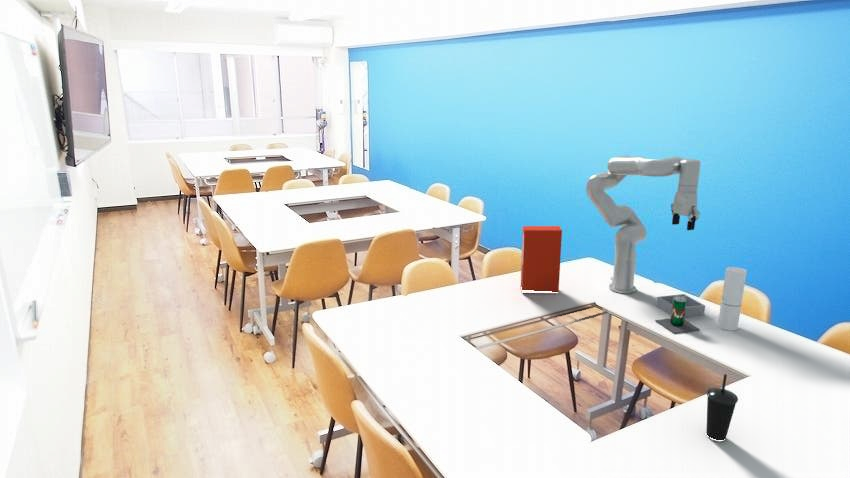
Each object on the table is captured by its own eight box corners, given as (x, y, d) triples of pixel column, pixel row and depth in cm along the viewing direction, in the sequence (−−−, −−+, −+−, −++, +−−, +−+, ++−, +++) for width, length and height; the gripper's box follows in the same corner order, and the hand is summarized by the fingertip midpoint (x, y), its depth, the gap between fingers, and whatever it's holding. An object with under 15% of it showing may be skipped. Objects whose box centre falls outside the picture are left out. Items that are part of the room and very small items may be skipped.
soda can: (682, 322, 221) (686, 295, 218) (684, 327, 217) (687, 300, 213) (669, 320, 223) (672, 294, 219) (670, 325, 218) (673, 298, 215)
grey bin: (656, 306, 239) (657, 296, 238) (682, 303, 241) (684, 293, 240) (676, 318, 226) (677, 308, 225) (703, 315, 229) (705, 305, 227)
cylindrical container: (732, 323, 221) (741, 266, 213) (740, 331, 214) (750, 273, 207) (714, 323, 221) (723, 266, 214) (722, 330, 214) (731, 272, 207)
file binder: (558, 294, 254) (562, 230, 245) (522, 294, 256) (524, 230, 246) (555, 288, 262) (559, 225, 253) (520, 287, 263) (522, 225, 254)
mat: (655, 321, 224) (655, 320, 224) (680, 318, 226) (680, 317, 226) (673, 333, 213) (673, 332, 212) (699, 330, 215) (700, 329, 215)
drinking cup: (695, 429, 155) (704, 368, 149) (720, 427, 155) (729, 367, 150) (710, 446, 147) (720, 383, 142) (737, 444, 148) (747, 381, 142)
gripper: (666, 185, 233) (662, 222, 238) (693, 192, 217) (688, 232, 222) (681, 184, 234) (677, 221, 239) (709, 191, 218) (704, 231, 223)
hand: (682, 227), depth 230 cm, fingers open, 9 cm apart
